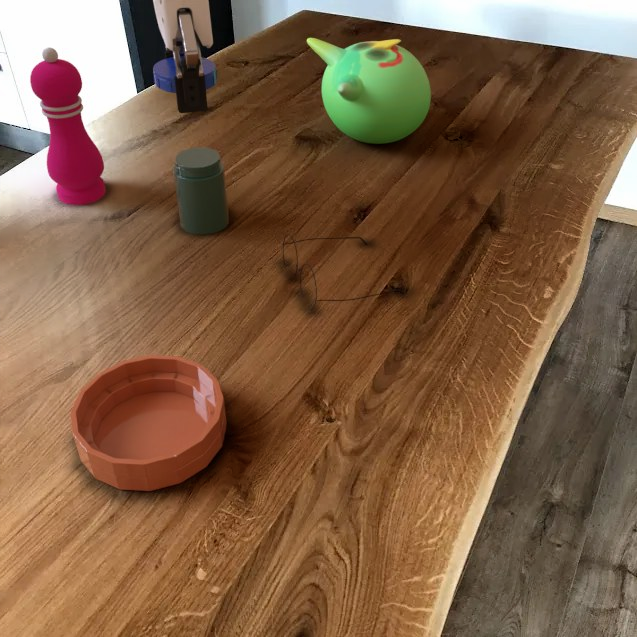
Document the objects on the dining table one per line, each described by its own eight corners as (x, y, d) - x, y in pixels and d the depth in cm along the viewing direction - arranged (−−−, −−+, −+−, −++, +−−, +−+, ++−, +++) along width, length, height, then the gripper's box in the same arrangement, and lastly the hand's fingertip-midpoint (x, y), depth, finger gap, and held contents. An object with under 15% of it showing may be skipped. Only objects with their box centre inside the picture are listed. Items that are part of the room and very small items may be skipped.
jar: (176, 235, 92) (166, 168, 86) (186, 210, 97) (177, 144, 91) (224, 237, 92) (218, 170, 86) (232, 211, 97) (226, 146, 91)
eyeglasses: (365, 241, 91) (367, 206, 88) (409, 300, 82) (412, 263, 79) (279, 259, 88) (277, 224, 85) (314, 322, 79) (314, 285, 76)
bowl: (60, 490, 62) (49, 459, 59) (104, 382, 72) (96, 352, 69) (212, 498, 61) (207, 467, 59) (235, 388, 71) (232, 358, 69)
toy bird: (444, 152, 110) (456, 54, 100) (340, 170, 105) (342, 70, 96) (394, 106, 123) (401, 15, 113) (299, 120, 118) (298, 27, 109)
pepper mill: (91, 212, 96) (56, 62, 84) (44, 203, 98) (3, 54, 85) (119, 187, 102) (91, 41, 89) (74, 178, 103) (40, 34, 91)
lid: (221, 71, 84) (220, 57, 83) (210, 95, 79) (209, 79, 78) (162, 69, 85) (160, 54, 84) (148, 92, 79) (146, 76, 78)
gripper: (223, -59, 66) (235, 125, 78) (193, -96, 79) (207, 67, 90) (140, -55, 65) (164, 133, 76) (122, -93, 77) (145, 73, 89)
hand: (187, 96), depth 83 cm, fingers closed on lid, 6 cm apart
